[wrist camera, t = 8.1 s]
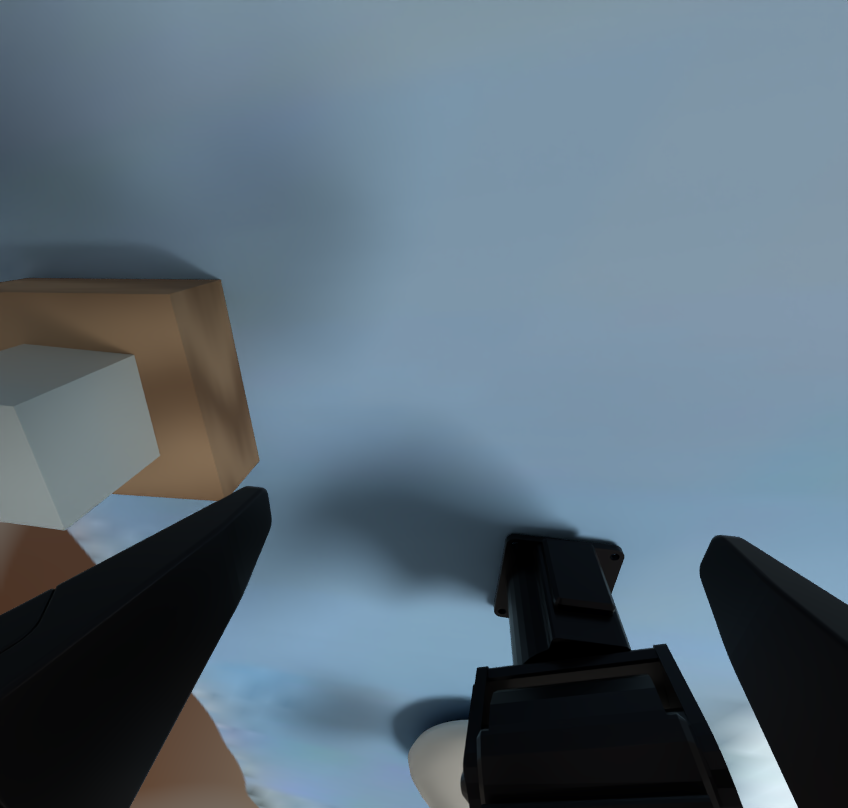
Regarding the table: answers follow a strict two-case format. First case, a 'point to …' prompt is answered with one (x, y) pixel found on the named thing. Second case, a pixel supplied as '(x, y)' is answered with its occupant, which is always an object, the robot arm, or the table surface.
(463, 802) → the flower in vase
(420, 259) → the table surface
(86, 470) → the gray cube
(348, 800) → the table surface
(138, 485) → the tan block
